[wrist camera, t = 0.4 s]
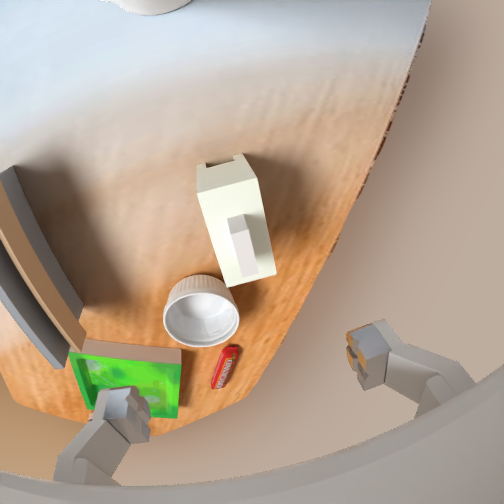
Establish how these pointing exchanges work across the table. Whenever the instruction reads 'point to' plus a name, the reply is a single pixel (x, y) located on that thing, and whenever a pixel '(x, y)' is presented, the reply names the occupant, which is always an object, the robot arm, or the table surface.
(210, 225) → the off-white handled block
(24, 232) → the wall board
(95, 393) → the tray
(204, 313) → the ramekin
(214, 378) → the candy bar
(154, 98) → the table surface
